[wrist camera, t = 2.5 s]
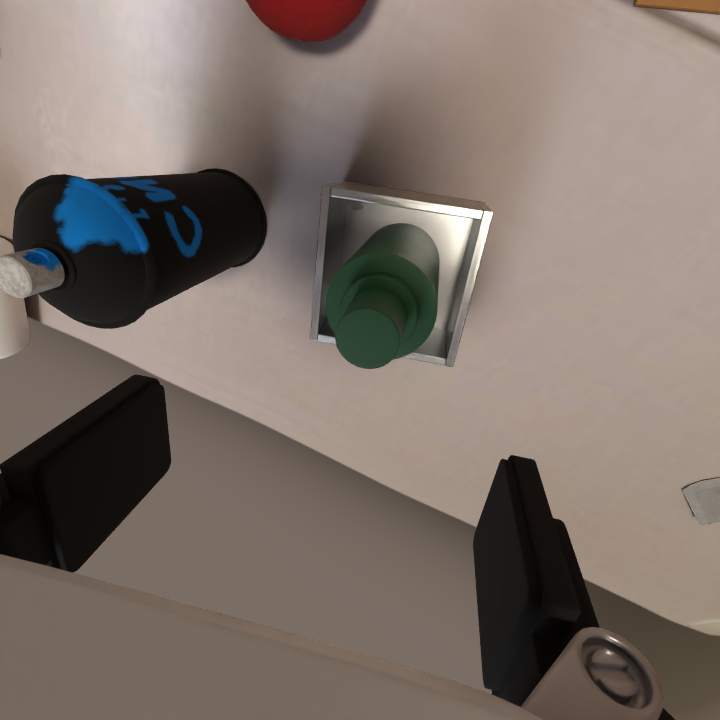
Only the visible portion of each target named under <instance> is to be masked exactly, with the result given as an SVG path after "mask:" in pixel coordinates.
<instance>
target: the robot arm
mask: <svg viewBox="0 0 720 720" xmlns="http://www.w3.org/2000/svg"><path fill="white" fill-rule="evenodd" d="M170 464H171V454H170V443H169V433H168V423H167V412H166V402H165V393H164V387H163V386H162V385H160V383H159V381H158V380H157V379H155V378H151V377H146V376H142V375H133V376H131V377H130V378H128V379H127V380H125V381H124V382H123V383H121V384H119V385H118V386H117V387H115V388H113V389H112V390H110V391H109V392H107V393H106V394H105V395H103V396H102V397H100V398H99V399H97V400H96V401H94V402H93V403H91V404H90V405H88V406H87V407H85V408H84V409H82V410H81V411H79V412H78V413H76V414H75V415H73V416H72V417H70V418H69V419H67V420H66V421H64V422H63V423H61V424H60V425H58V426H57V427H55V428H54V429H52V430H51V431H49V432H48V433H46V434H45V435H43V436H42V437H40V438H39V439H37V440H36V441H34V442H33V443H32V444H30V445H28V446H27V447H26V448H24V449H23V450H21V451H19V452H18V453H17V454H15V455H13V456H12V457H10V458H9V459H8V460H6V461H5V462H3V463H2V464H0V469H1V472H2V473H1V474H0V720H675V719H674V718H673V717H672V716H671V715H670V714H669V713H668V712H667V711H666V710H665V709H663V702H664V695H663V690H662V685H661V683H660V681H659V679H658V677H657V675H656V673H655V671H654V669H653V668H652V666H651V665H650V664H649V662H648V661H647V660H646V658H645V657H644V656H643V655H642V654H641V653H640V652H639V651H638V650H637V649H636V648H635V647H634V646H633V645H632V644H630V643H629V642H628V641H626V640H625V639H623V638H622V637H620V636H619V635H617V634H615V633H613V632H610V631H608V630H606V629H602V628H599V625H598V622H597V619H596V616H595V613H594V610H593V607H592V604H591V601H590V598H589V595H588V592H587V589H586V586H585V583H584V580H583V577H582V574H581V571H580V568H579V565H578V562H577V559H576V556H575V553H574V550H573V547H572V544H571V541H570V538H569V535H568V532H567V529H566V527H565V524H564V523H563V522H562V521H561V520H559V519H554V518H553V517H552V514H551V511H550V507H549V504H548V501H547V497H546V494H545V491H544V488H543V484H542V481H541V478H540V475H539V471H538V468H537V465H536V462H535V461H534V460H532V459H528V458H523V457H518V456H514V455H511V456H510V457H509V458H508V460H505V459H501V461H500V463H499V466H498V469H497V471H496V474H495V477H494V480H493V483H492V486H491V488H490V491H489V494H488V497H487V500H486V503H485V505H484V508H483V511H482V514H481V517H480V520H479V522H478V525H477V528H476V531H475V535H474V542H473V550H474V562H475V563H474V564H475V577H476V591H477V605H478V618H479V632H480V645H481V659H482V672H483V683H484V686H485V688H487V689H491V690H492V694H489V693H486V692H483V691H481V690H478V689H475V688H472V687H470V686H467V685H464V684H461V683H458V682H456V681H453V680H449V679H446V678H443V677H439V676H436V675H432V674H430V673H426V672H423V671H420V670H416V669H413V668H410V667H407V666H403V665H400V664H397V663H393V662H390V661H387V660H384V659H380V658H377V657H373V656H370V655H366V654H363V653H359V652H355V651H352V650H349V649H345V648H342V647H338V646H335V645H331V644H327V643H324V642H320V641H317V640H313V639H310V638H306V637H303V636H299V635H296V634H292V633H288V632H285V631H282V630H278V629H274V628H271V627H268V626H264V625H260V624H257V623H253V622H250V621H246V620H243V619H239V618H235V617H232V616H228V615H225V614H221V613H217V612H213V611H210V610H207V609H203V608H199V607H196V606H192V605H188V604H185V603H181V602H178V601H174V600H171V599H167V598H163V597H160V596H156V595H153V594H149V593H145V592H142V591H138V590H134V589H131V588H127V587H123V586H119V585H116V584H112V583H108V582H105V581H101V580H97V579H94V578H90V577H86V576H83V575H79V574H75V573H72V572H75V571H77V570H78V569H79V568H80V567H81V566H82V565H83V564H84V563H85V562H86V561H87V560H88V558H89V557H90V556H91V555H92V554H93V553H94V552H95V551H96V550H97V549H98V547H99V546H100V545H101V544H102V543H103V542H104V541H105V540H106V538H107V537H108V536H109V535H110V534H111V533H112V532H113V531H114V530H115V529H116V528H117V526H118V525H119V524H120V523H121V522H122V521H123V520H124V519H125V518H126V517H127V515H128V514H129V513H130V512H131V511H132V510H133V509H134V508H135V507H136V506H137V504H138V503H139V502H140V501H141V500H142V499H143V498H144V497H145V496H146V495H147V494H148V492H149V491H150V490H151V489H152V488H153V487H154V486H155V484H156V483H158V481H159V480H160V479H161V478H162V477H163V476H164V475H165V474H166V472H167V471H168V469H169V467H170Z"/></svg>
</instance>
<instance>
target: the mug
mask: <svg viewBox="0 0 720 720" xmlns="http://www.w3.org/2000/svg"><path fill="white" fill-rule="evenodd" d="M11 253H15V252H14V248H13V245H12V244H11V243H10V242H9V241H7V240H6V239H4V238H1V237H0V256H2V255H6V254H11ZM30 338H31V335H30V329H29V323H28V318H27V312H26V307H25V301H24V298H16V297H13V296H11V295H10V294H8V293H6V292H5V291H4V290H3V289H2V288H1V287H0V359H3V358H6V357H9V356H11V355H13V354H16V353H17V352H19V351H21V350H22V349H23V348H25V347H26V346H27V345H28V343H29V341H30Z"/></svg>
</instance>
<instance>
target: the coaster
mask: <svg viewBox="0 0 720 720" xmlns="http://www.w3.org/2000/svg"><path fill="white" fill-rule="evenodd" d="M634 6H641V7H651V8H661V9H671V10H682V11H692V12H702V13H712V14H720V0H635V2H634Z"/></svg>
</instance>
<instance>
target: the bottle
mask: <svg viewBox="0 0 720 720" xmlns="http://www.w3.org/2000/svg"><path fill="white" fill-rule="evenodd" d="M439 267H440V259H439V253H438V249H437V247H436V245H435V243H434V241H433V240H432V238H431V237H430V236H429V235H428V234H427V233H426V232H425V231H423V230H422V229H420V228H419V227H417V226H414V225H411V224H407V223H395V224H390V225H387V226H385V227H383V228H381V229H379V230H378V231H376V232H375V233H374V234H373V235H372V236H371V237H370V238H369V239H368V240H367V241H366V242H365V243H364V244H363V245H362V246H361V247H360V248H359V250H358V251H357V252H356V253H355V254H354V255H353V256H352V257H351V258H350V259H349V260H348V261H347V262H346V263H345V264H344V265H343V266H342V267H341V268H340V269H339V270H338V272H337V273H336V274H335V276H334V277H333V279H332V280H331V283H330V285H329V287H328V291H327V295H326V314H327V318H328V321H329V324H330V327H331V328H332V330H333V332H334V334H335V341H336V345H337V348H338V350H339V352H340V353H341V355H342V356H343V357H344V358H345V359H346V360H347V361H348V362H350V363H351V364H353V365H355V366H357V367H361V368H366V369H374V368H379V367H382V366H384V365H386V364H388V363H389V362H390V361H391V360H393V359H397V358H401V357H404V356H406V355H408V354H410V353H412V352H414V351H415V350H417V349H418V348H419V347H420V346H421V345H422V344H423V343H424V342H425V341H426V340H427V339H428V337H429V335H430V334H431V332H432V330H433V328H434V325H435V322H436V317H437V306H438V286H439Z"/></svg>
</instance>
